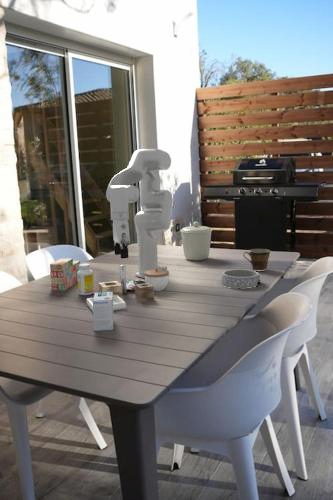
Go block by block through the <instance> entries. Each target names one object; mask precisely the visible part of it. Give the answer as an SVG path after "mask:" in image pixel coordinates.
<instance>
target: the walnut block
mask: <svg viewBox="0 0 333 500" xmlns="http://www.w3.org/2000/svg"><path fill="white" fill-rule="evenodd" d="M134 289H135V290H134V293H135V299H136V300H137V301H138V302H139V303H144V302H150V301H151V302H152V301H155V291H154V286H153V285H151V284H150V283H146V282H145V283H136V284H134Z"/></svg>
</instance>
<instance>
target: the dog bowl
mask: <svg viewBox="0 0 333 500" xmlns="http://www.w3.org/2000/svg"><path fill="white" fill-rule="evenodd" d="M221 274H222V275H221V278H220V282H219V285H220V284H221V285H223V286H226V287H231V288H247V287H254V286H257V287H258V283H260V282H261V283H262V281H261V278H260V272H256V271H253V269H247V268H235V269H234V268H233V269H227V270H224V271H223V272H222V273H221ZM258 281H260V282H258ZM221 285H220V286H221ZM223 286H222V287H223ZM226 287H225V288H226ZM231 288H230V289H231Z"/></svg>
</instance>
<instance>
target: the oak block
mask: <svg viewBox="0 0 333 500" xmlns="http://www.w3.org/2000/svg"><path fill="white" fill-rule="evenodd" d="M98 292H113V295H118V296H119V297H120V298H121V299H122V300H124V299H123V298H124V296H123V293H122V285H121V284H120V281H117V280H113V281H103V282H98Z"/></svg>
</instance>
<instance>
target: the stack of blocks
mask: <svg viewBox="0 0 333 500" xmlns="http://www.w3.org/2000/svg"><path fill="white" fill-rule="evenodd" d="M80 264H81V260H74V259H73V258H67V257H66V258H59V259H57V260H55V261H53V262H51V263H49V270H50V281H51V282H50V283H51V284H50V285H51V291H66V290H68V289H69V288H71V287H72V286H74V285H75V284H77V283H78V277H77V272H78V271H79V270H80V268H79V265H80Z"/></svg>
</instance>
